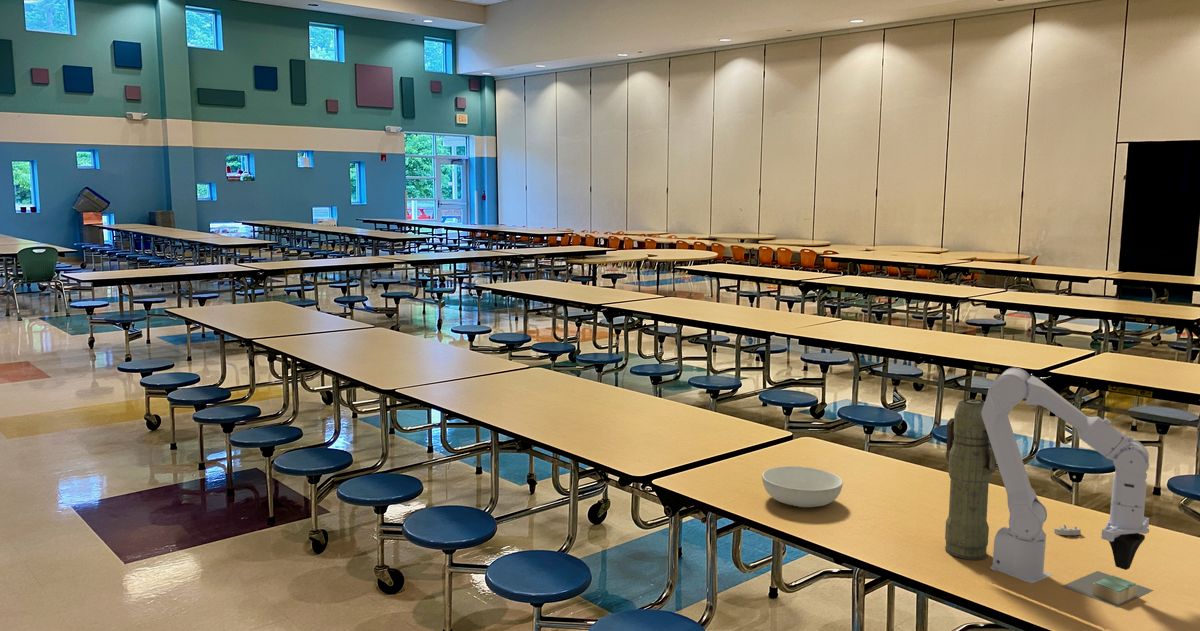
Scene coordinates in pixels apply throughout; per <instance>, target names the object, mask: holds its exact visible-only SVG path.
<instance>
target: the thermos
mask: <svg viewBox="0 0 1200 631" xmlns="http://www.w3.org/2000/svg"><path fill="white" fill-rule="evenodd" d="M984 403H985V401H984V400H981V399H974V398H965V399H962V400H959V401H958V403H957V406H956V408H955V410H954V416H953V417H952V418H950V419H949V420H948V421H947V422H946V453H945V458H946V460H947V462H948V476H949V478H950V482H949V483H950V484H949V486H950V488H949V503H948V504H949V505H948V516H947V518H946V520H945V529H944V530H945V531H944V533H945V534H944V540H945V548H944V549H945V552H946V553H947V554H948V555H951V556H953V557H955V558H959V559H964V560H970V561H971V560H972V561H975V560H976V561H977V560H978V561H979V560H983V559H985V558H986V557H987V551H988V550H987V549H988V548H987V547H988V546H989V534H990V531H989V530H990V526H989V524H988V521H987V520H988V519H987V517H988V503H989V502H988V500H989V484H990V482H991V480H992V474H994V473H996V468H997V461H996V458H995V455H994V452H993V449H992V446H991V443H990V440H989V437H988V434H987V431H986V427H985V424H984V421H983V418H982V413H981V412H982V409H983V406H984Z"/></svg>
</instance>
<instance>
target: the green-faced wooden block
mask: <svg viewBox="0 0 1200 631" xmlns="http://www.w3.org/2000/svg"><path fill="white" fill-rule="evenodd" d="M1110 575H1111V574H1110ZM1137 585H1138V584H1137V583H1135V582H1132V581H1130V580H1127V579H1124V578H1122V577H1118V576H1116V575H1111V576H1109V577H1107V578H1104V579H1102V580H1100V581H1097V582H1095V583H1093V591H1092V595H1094V596H1097V597H1099V598H1102V599H1105V600H1107V601H1110V602H1113V603H1115V604H1118V605H1119V604H1121V603H1123V602H1125V601H1127V600H1129V599H1131V598H1133V597H1135V596H1136V595H1137Z"/></svg>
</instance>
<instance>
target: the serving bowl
mask: <svg viewBox="0 0 1200 631" xmlns="http://www.w3.org/2000/svg"><path fill="white" fill-rule="evenodd" d="M761 478H762V484H763V487H764V490H765V491H766V493H767V495H769V496H770V497H771V498H772V499H775V500H776V501H777V502H779V503H783V504H785V505H788V506H792V505H793V506H792V507H796V506H799V507H798V508H816V507H822V506H825V505H826V506H827V505H828V504H831V503H832V502H834V501H835V500H836V499H837V498H838V497H839V495H840V494H841V491H842V488H843V484H844V481H843V479H842V478H841V477H840V476H839V475H837V474H835V473H833V472H830V471H828V470H824V469H821V468H820V469H819V468H816V467H810V466H809V467H808V466H799V465H798V466H797V465H795V466H794V465H788V466H786V465H784V466H775V467H771V468H768V469H766V470H764V471H763V472H762V474H761Z"/></svg>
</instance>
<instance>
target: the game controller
mask: <svg viewBox="0 0 1200 631" xmlns="http://www.w3.org/2000/svg"><path fill="white" fill-rule="evenodd" d="M1081 531H1082V530H1081V528H1078V527H1077V526H1075V527H1072V528H1071V527H1067V525H1065V524H1064V525H1063V526H1059V527H1054V528H1053V533H1054V534H1055V535H1060V536H1074V537H1076V536H1077V537H1079V538H1080V535H1081V534H1082V532H1081Z"/></svg>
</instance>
